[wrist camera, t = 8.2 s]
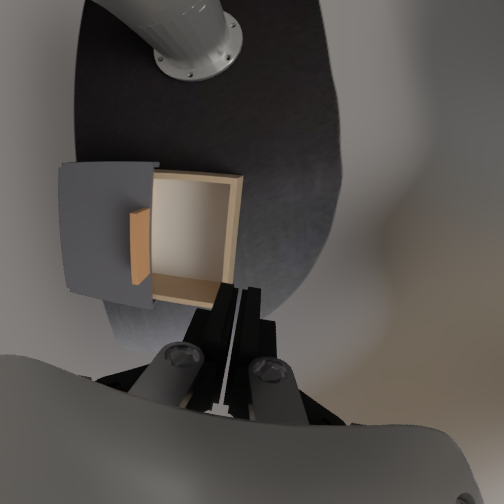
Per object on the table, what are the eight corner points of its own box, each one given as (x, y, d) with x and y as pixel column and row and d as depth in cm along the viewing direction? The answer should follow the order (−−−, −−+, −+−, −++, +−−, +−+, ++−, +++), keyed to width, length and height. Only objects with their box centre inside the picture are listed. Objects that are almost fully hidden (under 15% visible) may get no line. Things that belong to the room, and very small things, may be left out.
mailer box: (151, 169, 36) (128, 171, 30) (243, 175, 36) (237, 178, 29) (149, 274, 41) (130, 294, 35) (232, 286, 41) (225, 310, 34)
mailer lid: (68, 162, 31) (41, 165, 25) (159, 161, 30) (138, 162, 25) (75, 285, 37) (54, 301, 31) (157, 302, 36) (141, 324, 31)
